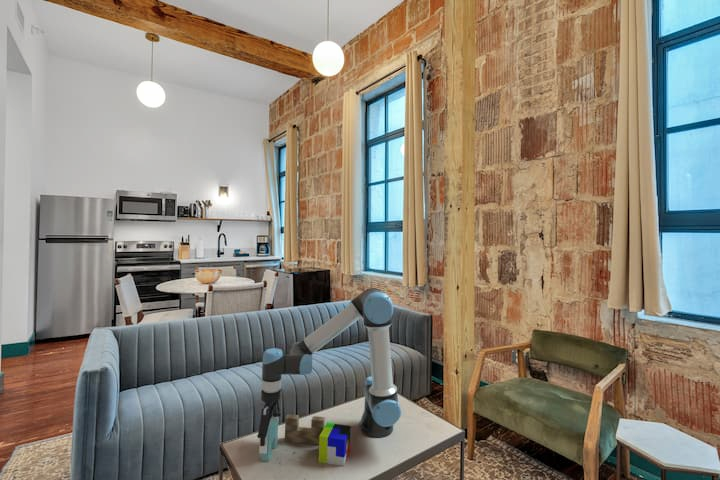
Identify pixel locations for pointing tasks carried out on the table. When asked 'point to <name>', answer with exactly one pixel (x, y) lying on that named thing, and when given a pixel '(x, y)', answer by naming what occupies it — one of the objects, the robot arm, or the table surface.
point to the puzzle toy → (334, 444)
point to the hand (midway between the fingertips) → (268, 442)
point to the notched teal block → (271, 439)
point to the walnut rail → (303, 430)
